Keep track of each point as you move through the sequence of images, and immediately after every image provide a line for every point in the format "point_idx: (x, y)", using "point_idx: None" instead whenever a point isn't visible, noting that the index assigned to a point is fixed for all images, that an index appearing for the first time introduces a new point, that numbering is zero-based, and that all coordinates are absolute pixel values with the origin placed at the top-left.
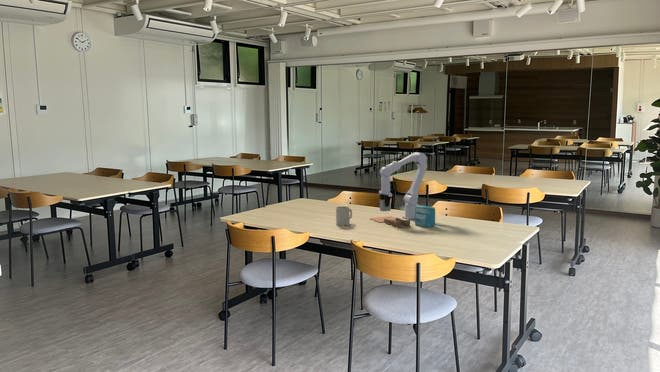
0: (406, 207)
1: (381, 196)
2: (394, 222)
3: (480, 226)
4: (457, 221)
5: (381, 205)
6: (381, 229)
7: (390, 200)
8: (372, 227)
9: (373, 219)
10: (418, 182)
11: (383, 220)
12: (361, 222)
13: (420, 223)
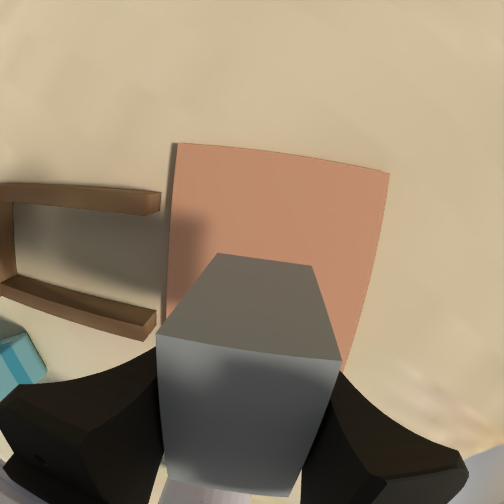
0: (193, 492)
1: (347, 481)
2: (11, 196)
3: (8, 448)
4: None
5: (243, 290)
6: (22, 72)
7: (168, 471)
8: (87, 30)
9: (317, 165)
10: None
11: (214, 225)
12: (297, 21)
13: (3, 341)
